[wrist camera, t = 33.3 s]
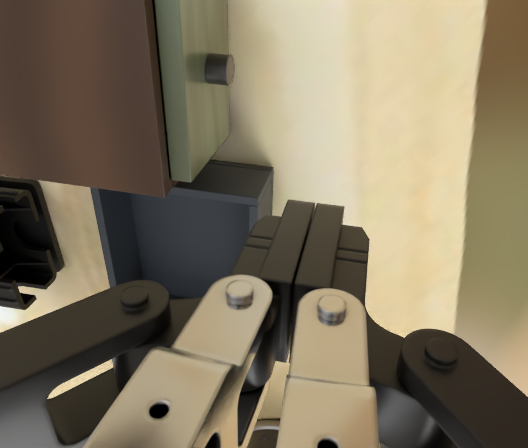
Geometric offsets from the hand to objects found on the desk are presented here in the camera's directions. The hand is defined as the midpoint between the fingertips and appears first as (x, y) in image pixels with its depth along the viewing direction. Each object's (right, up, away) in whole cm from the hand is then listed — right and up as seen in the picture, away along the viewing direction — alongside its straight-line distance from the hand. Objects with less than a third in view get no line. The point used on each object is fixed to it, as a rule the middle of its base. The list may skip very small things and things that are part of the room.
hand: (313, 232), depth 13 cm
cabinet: (-11, +12, +18) cm, 25 cm away
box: (-6, -1, +25) cm, 26 cm away
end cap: (-23, 0, +29) cm, 37 cm away
